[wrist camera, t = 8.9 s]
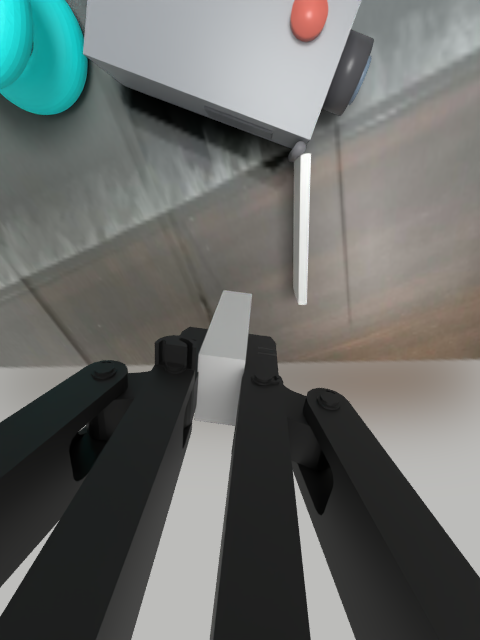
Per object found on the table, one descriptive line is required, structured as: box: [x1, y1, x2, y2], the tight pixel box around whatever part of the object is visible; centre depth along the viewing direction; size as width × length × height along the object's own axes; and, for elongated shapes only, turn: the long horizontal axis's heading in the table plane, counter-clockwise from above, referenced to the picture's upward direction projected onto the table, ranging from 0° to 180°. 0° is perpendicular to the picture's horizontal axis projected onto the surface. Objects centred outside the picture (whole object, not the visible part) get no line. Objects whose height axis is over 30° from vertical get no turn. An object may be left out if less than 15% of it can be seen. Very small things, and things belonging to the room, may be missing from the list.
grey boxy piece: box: [83, 0, 374, 149], centre depth 23 cm, size 20×9×8 cm, turn 71°
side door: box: [288, 141, 311, 305], centre depth 29 cm, size 14×2×6 cm, turn 3°
